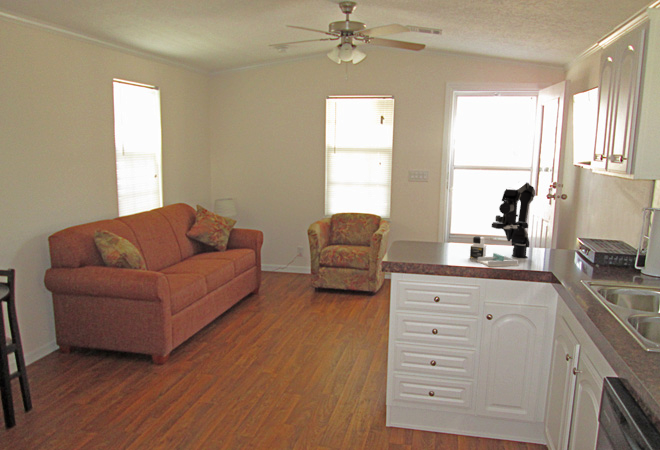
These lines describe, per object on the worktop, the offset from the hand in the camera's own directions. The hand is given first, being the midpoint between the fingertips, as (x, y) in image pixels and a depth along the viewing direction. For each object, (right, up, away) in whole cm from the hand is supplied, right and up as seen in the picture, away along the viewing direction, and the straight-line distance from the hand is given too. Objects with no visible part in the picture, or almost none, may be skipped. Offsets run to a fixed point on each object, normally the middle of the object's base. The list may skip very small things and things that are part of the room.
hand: (508, 241), depth 270 cm
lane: (-6, -12, 0) cm, 13 cm away
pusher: (-9, -11, -1) cm, 14 cm away
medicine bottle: (-13, -10, +13) cm, 21 cm away
